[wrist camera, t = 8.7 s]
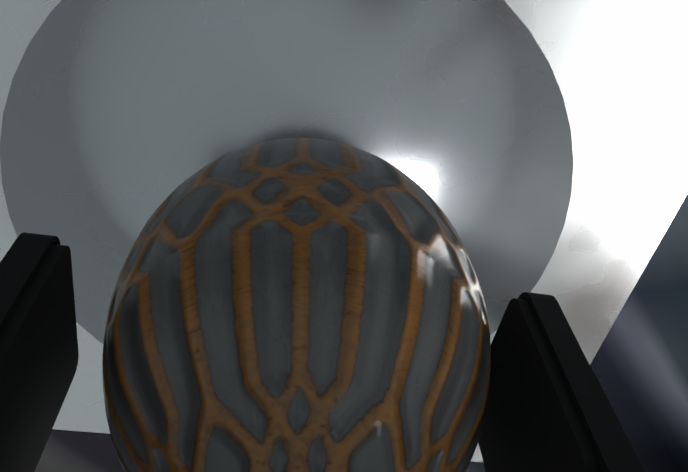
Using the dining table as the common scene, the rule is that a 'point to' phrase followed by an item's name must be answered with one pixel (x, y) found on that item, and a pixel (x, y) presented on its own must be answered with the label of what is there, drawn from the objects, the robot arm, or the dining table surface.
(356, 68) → the flange plate
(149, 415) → the vase
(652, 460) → the dining table surface
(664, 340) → the dining table surface
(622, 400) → the dining table surface
